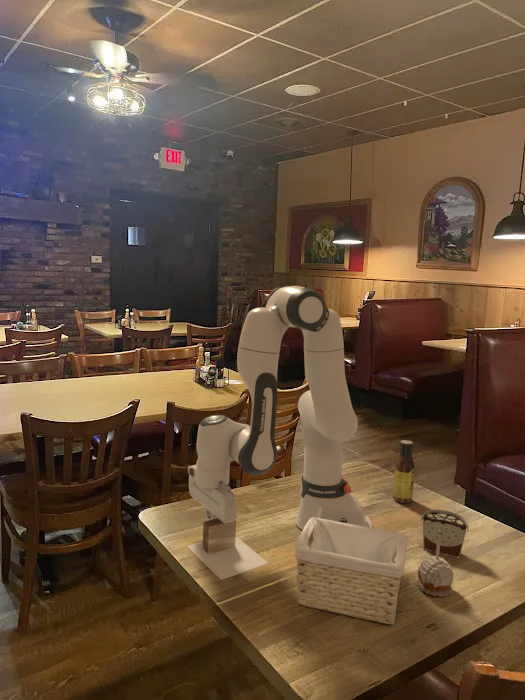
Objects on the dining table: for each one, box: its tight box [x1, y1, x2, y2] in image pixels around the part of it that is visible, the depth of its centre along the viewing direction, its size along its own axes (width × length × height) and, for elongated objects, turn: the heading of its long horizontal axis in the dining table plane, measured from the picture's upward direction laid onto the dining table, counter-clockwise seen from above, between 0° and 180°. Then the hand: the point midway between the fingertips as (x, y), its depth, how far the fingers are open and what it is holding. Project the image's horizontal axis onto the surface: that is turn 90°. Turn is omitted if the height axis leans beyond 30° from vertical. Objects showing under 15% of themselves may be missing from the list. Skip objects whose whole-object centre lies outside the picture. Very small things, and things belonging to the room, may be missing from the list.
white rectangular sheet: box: [186, 536, 269, 581], centre depth 142 cm, size 18×14×1 cm
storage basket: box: [294, 517, 408, 625], centre depth 126 cm, size 24×16×15 cm
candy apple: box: [416, 530, 454, 598], centre depth 131 cm, size 8×8×15 cm
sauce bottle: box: [392, 439, 416, 504], centre depth 178 cm, size 6×6×20 cm
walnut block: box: [202, 518, 237, 555], centre depth 145 cm, size 4×8×8 cm, turn 125°
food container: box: [420, 509, 469, 558], centre depth 150 cm, size 12×6×10 cm, turn 65°
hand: (211, 524), depth 148 cm, fingers closed
